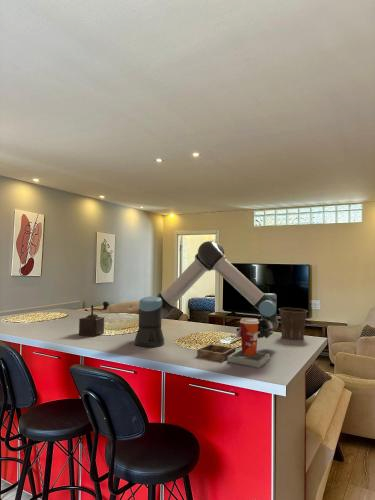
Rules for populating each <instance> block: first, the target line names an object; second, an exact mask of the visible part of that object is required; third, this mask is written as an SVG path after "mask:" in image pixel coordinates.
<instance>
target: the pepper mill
mask: <svg viewBox="0 0 375 500" xmlns="http://www.w3.org/2000/svg"><path fill="white" fill-rule="evenodd" d="M102 306H103V307H102V308H94V305H93V304H91V305H90V309H91V310H90V311H91V313H90V314H88V315H87V316H85V317H81V318H79V320H78V322H79V323H78V336H81V337H92V338H95V337H98V336H102V335H103V334H105V317H103V316H99V315H98V314H95V313H94V311H101V312H103V311H106V310H108V308H109V306H110V302H109V301H103V303H102Z"/></svg>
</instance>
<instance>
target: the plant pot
mask: <svg viewBox="0 0 375 500" xmlns="http://www.w3.org/2000/svg"><path fill="white" fill-rule="evenodd" d="M278 311H279V317H280V328H281V329H280V331H281V337H282V338H285V339H288V340H295V341H297V340H303V339H304V337H305V327H306V326H305V325H306V320H307V317H308V312H309V311H308V310H307V309H304V308H297V307H296V308H295V307H281V308H278Z"/></svg>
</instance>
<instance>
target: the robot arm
mask: <svg viewBox="0 0 375 500" xmlns="http://www.w3.org/2000/svg"><path fill="white" fill-rule="evenodd" d="M223 247H224V246H222V245H221V244H220V243H218V242H216V241H215V242H214V241H212V240H210V241H209V240H207V241H203V242H202V243H201V244H200V245H199V247H198V248H197V253H196V254H195V256H194V260H193V262H191V263H190V265H188V267H187V268H186V269H185V270H184V271H183V272H182V273H181V274H180V275H179V276H178V277H177V278H176V279H175V280H174V281H173V282H172V283H171V285H169V287H168V288H167V289H166V290H161V291H160V292H159V293H158V294H157V295H156V296H145V297H142V298H140V299H139V304H138V329H137V332H136V336H135V338H134V345H135V346H139V347H145V348H147V347H148V348H154V347H155V348H156V347H161V346H163V345H165V337H164V333H163V330H162V319H166V318H168V317H169V316H170V315H172V312H173V310H174V309H175V308H176V307H178V306H177V305H178V302H179V300H180V299H181V298H183V296H184V295H185V294H186V293H187V292H188V291H189V290H190V289H191V288H192V287H193V286H194V284H196V282H197V281H199V279H200V278H202V276H203V275H204V274H205V273H206V272H211V271H216V272H217V273H218V274H219V275H220V276H221V277H222V278H224V280H226V282H227V283H229V285H231V286H232V287H233V288H234V289H235V290H236V291H237V292H238V293H239V294H240V295H241V296H243V297H244V298H245V299H246V300H247V301H248V302H249V304H251V305H253V307H254V308H255V309H257V311H258V312H259V313H260V315H261V316H260V317H261V318H260V319H258V322H259V323H258V332H256V333H254V334H253V340H254V341H255V340H257V341H258V340H259V339H263V338H265V339H269V337H270V336H271V335H273V334H274V333H273V332H274V331H276V330H277V329H278V327H279V320H278V318H277V308H278V307H277V302H278V299H277V294H276V293H269V292H268V293H266V292H265V293H264V292H263V291H261V290H260V289H259V288H258V287H257V286H256V285H255V284H254V283H253V282H252V281H251V280H249V278H247V277H246V276H245V275H244V274H243V273H242V272H241V271H239V270H238V268H237V267H235V266H234V265H233V263H231V262H230V261H229V260H227V257H226V254H225V249H224V248H223ZM235 338H236V339H240V338H241V326H239V327H237V328H236V331H235Z"/></svg>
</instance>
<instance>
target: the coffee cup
mask: <svg viewBox="0 0 375 500" xmlns="http://www.w3.org/2000/svg"><path fill="white" fill-rule="evenodd" d="M258 321H259V319H258V318H255V317H254V318H253V317H242V318H240V321H239V323H240V327H241V337H240V339H241V341H240V342H241V350H242V354H243V355H248V356H254V355H256V352H257V348H258V339H257V340H255V341H254V340H253V334H254V333H256V332H258V323H259V322H258Z"/></svg>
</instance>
